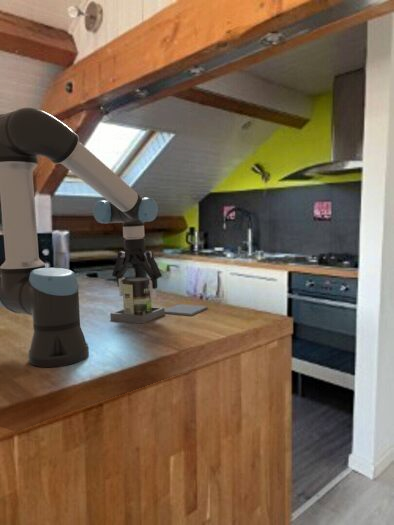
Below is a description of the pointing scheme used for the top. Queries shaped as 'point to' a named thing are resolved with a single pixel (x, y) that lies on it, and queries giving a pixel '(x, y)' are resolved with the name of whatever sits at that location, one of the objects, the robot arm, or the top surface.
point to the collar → (137, 316)
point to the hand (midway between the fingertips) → (137, 296)
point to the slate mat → (185, 309)
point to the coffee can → (136, 296)
